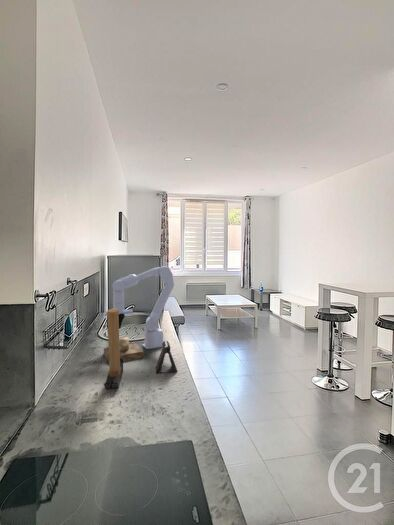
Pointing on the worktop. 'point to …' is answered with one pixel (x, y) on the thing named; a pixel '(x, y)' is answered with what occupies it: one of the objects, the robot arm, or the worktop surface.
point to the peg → (124, 343)
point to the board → (128, 353)
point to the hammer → (114, 351)
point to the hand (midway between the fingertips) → (118, 328)
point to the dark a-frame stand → (161, 358)
